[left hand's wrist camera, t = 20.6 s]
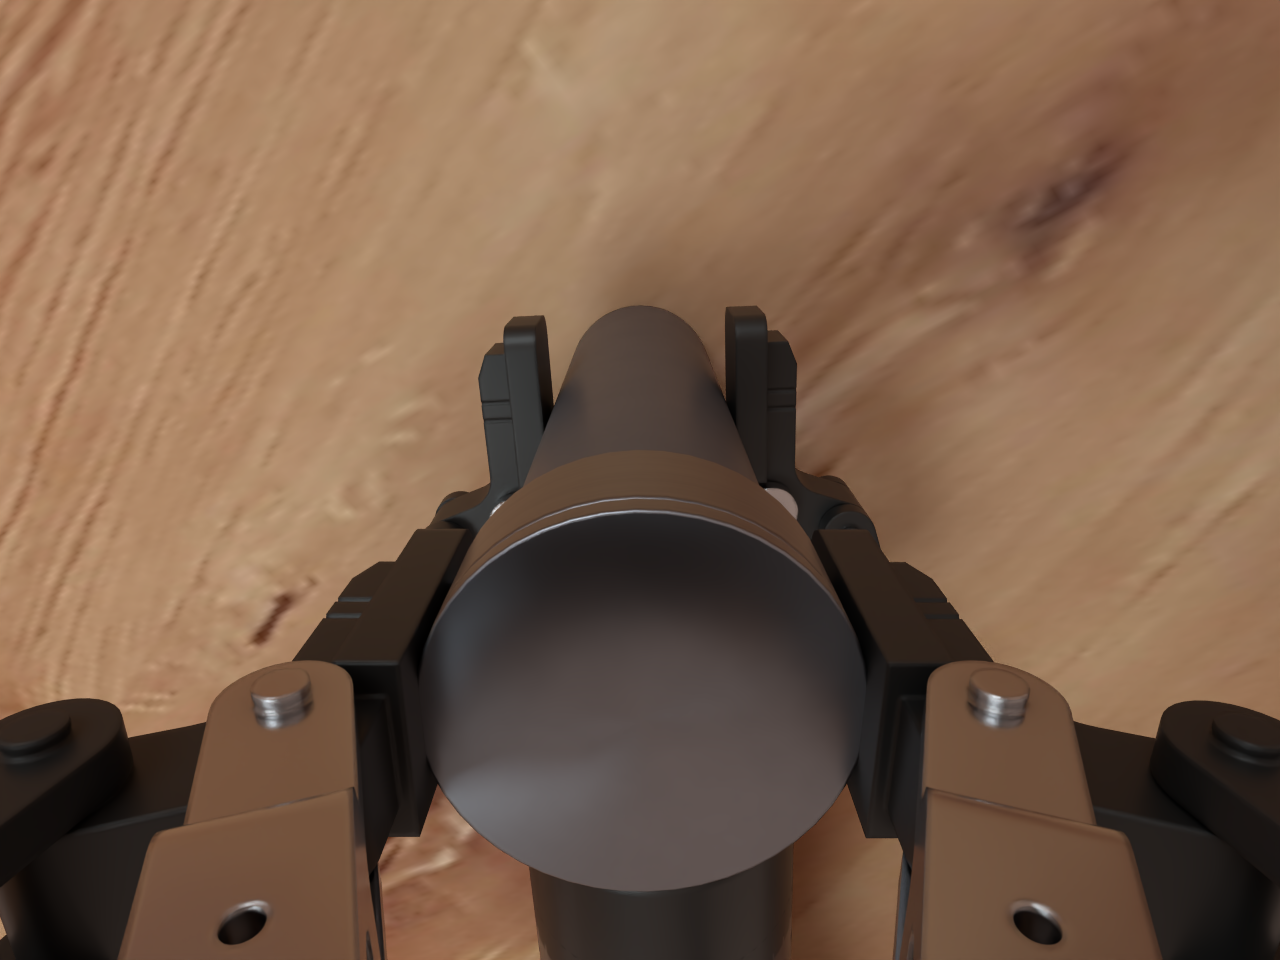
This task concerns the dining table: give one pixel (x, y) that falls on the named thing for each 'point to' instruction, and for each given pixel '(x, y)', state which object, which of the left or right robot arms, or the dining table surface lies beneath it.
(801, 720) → the lid
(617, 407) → the cylindrical container
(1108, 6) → the dining table surface
